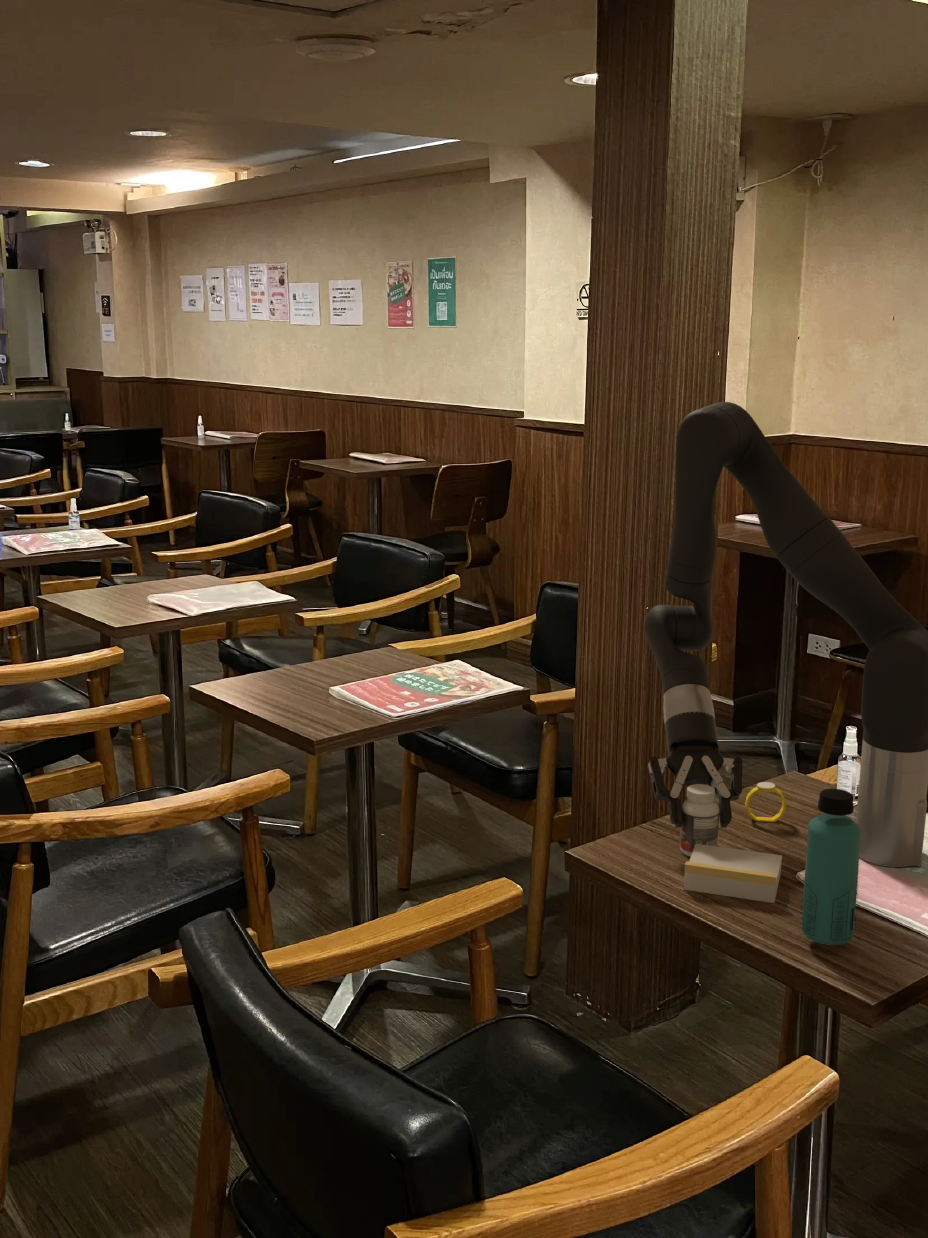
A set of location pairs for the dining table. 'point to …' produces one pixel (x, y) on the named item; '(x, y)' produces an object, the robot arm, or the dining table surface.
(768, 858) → the dock
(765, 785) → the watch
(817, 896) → the beverage bottle
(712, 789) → the pill bottle
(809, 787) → the dining table surface
